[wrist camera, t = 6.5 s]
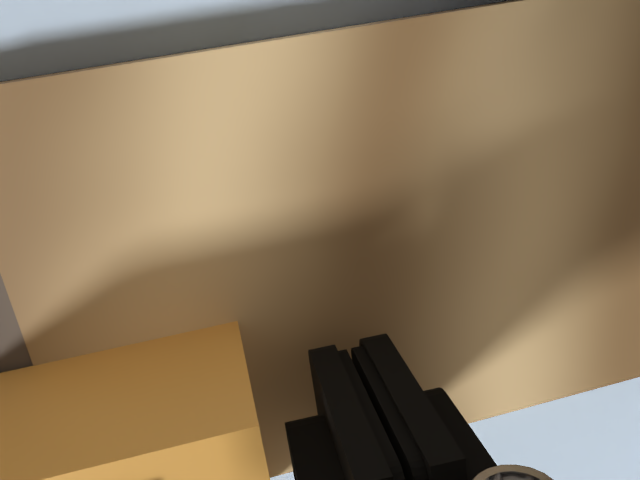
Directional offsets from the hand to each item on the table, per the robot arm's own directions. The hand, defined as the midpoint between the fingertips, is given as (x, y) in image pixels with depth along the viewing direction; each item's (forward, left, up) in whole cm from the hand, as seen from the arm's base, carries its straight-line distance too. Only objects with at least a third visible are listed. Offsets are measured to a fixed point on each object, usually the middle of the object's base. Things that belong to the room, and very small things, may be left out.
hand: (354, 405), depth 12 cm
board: (+2, -3, -2) cm, 4 cm away
